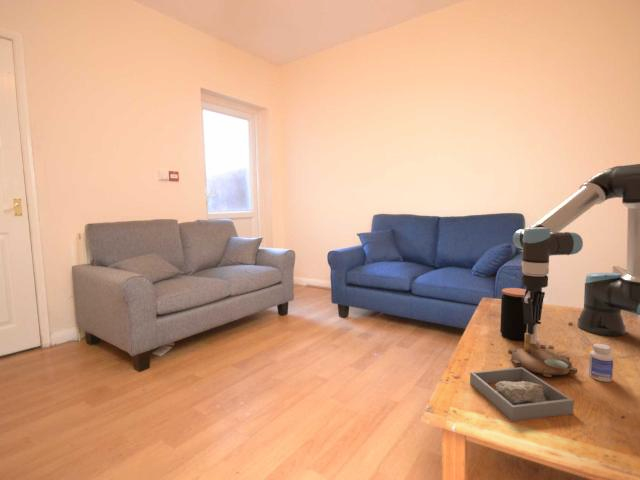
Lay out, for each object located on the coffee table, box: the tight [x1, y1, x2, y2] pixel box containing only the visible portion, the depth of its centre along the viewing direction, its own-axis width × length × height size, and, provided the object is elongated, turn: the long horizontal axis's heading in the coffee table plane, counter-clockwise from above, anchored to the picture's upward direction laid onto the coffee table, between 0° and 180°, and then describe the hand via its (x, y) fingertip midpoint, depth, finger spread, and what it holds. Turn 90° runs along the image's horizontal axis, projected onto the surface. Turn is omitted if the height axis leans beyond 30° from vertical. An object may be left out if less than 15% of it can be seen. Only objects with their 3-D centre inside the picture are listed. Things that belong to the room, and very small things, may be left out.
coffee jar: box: [499, 287, 527, 342], centre depth 133 cm, size 11×11×18 cm
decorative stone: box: [494, 380, 547, 405], centre depth 91 cm, size 12×11×5 cm
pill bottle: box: [588, 343, 614, 383], centre depth 101 cm, size 5×5×10 cm
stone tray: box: [469, 366, 575, 422], centre depth 92 cm, size 17×18×4 cm
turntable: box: [507, 333, 578, 378], centre depth 108 cm, size 19×17×7 cm
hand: (531, 342), depth 116 cm, fingers closed
